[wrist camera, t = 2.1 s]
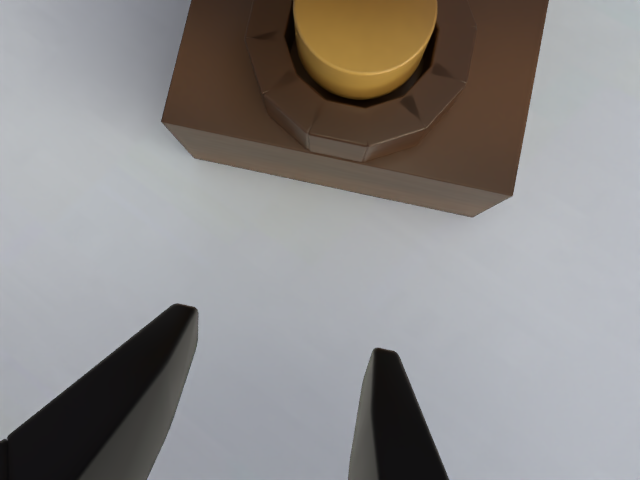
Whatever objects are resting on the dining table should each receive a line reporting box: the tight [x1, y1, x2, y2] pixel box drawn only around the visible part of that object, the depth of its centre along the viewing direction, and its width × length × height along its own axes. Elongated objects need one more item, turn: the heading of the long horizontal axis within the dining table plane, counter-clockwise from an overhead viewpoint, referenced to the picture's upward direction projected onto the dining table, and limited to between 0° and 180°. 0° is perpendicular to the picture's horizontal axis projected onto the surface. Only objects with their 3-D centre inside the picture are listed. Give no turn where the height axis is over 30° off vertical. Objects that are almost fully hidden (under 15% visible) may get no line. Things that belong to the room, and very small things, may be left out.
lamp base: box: [161, 0, 549, 217], centre depth 21 cm, size 13×12×7 cm
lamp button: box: [293, 0, 437, 100], centre depth 17 cm, size 4×4×2 cm
